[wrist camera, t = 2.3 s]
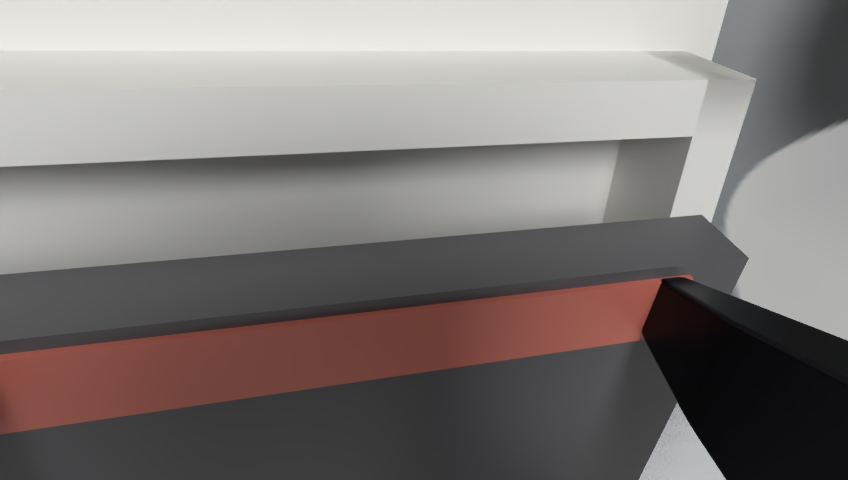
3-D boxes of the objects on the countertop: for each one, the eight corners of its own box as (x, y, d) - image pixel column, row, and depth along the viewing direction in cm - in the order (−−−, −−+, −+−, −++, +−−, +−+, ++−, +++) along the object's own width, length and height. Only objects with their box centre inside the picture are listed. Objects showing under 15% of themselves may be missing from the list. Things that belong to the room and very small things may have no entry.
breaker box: (519, 539, 25) (584, 675, 21) (46, 649, 20) (8, 853, 16) (641, -25, 15) (809, 19, 11) (-214, -59, 11) (-476, -4, 6)
